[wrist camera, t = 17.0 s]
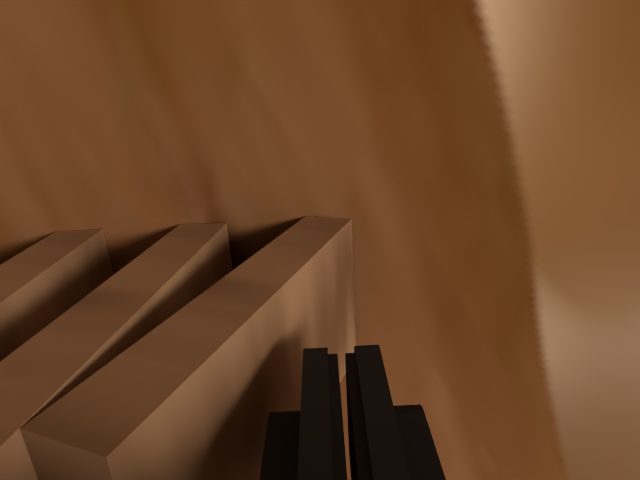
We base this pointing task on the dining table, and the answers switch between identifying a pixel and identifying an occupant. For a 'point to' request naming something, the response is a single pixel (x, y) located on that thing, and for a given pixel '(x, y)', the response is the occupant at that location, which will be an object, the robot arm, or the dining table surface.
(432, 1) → the dining table surface
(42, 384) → the domino
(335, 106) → the dining table surface
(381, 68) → the dining table surface
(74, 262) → the domino
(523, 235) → the dining table surface
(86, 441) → the domino
